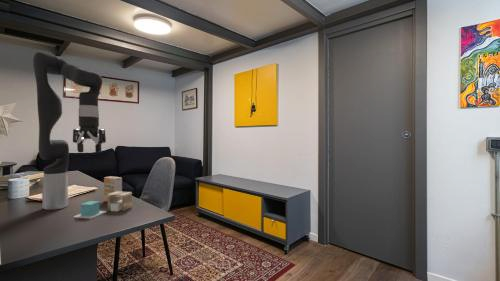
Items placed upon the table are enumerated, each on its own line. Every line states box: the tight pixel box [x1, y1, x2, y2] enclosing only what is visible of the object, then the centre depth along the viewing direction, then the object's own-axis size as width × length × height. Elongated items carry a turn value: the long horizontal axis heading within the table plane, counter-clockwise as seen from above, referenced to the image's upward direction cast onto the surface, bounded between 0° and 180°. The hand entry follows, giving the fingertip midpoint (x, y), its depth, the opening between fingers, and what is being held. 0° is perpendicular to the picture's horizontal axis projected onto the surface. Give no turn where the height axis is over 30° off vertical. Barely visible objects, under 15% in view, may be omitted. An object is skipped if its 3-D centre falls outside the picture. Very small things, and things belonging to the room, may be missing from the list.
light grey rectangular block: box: [110, 200, 122, 212], centre depth 119 cm, size 4×9×4 cm, turn 171°
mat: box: [72, 210, 107, 220], centre depth 110 cm, size 9×9×1 cm
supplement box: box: [103, 175, 123, 203], centre depth 131 cm, size 8×5×13 cm, turn 68°
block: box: [80, 200, 100, 216], centre depth 110 cm, size 5×5×5 cm
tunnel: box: [107, 191, 133, 212], centre depth 119 cm, size 8×6×8 cm
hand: (89, 152), depth 109 cm, fingers open, 8 cm apart
